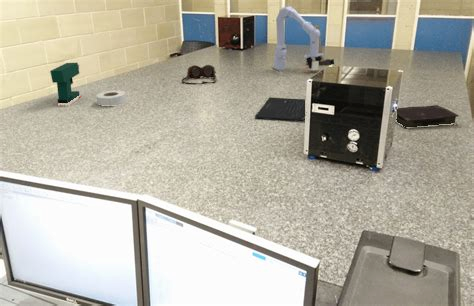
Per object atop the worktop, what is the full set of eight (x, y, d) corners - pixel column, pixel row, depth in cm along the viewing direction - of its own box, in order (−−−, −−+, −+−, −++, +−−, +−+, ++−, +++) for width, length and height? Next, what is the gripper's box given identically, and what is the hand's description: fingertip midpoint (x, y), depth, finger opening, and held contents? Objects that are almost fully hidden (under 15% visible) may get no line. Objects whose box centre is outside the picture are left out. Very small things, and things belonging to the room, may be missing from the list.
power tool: (78, 91, 255) (72, 59, 247) (89, 91, 255) (83, 59, 247) (56, 106, 226) (48, 71, 218) (68, 106, 226) (61, 70, 218)
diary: (386, 117, 195) (387, 107, 193) (435, 113, 197) (436, 103, 195) (405, 130, 178) (407, 119, 176) (458, 126, 180) (460, 116, 178)
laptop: (269, 100, 226) (269, 66, 218) (337, 104, 215) (340, 68, 207) (254, 119, 197) (253, 80, 189) (331, 125, 186) (334, 84, 178)
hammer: (307, 69, 301) (301, 29, 290) (307, 68, 306) (301, 28, 295) (334, 65, 296) (329, 23, 285) (334, 63, 301) (329, 22, 290)
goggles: (183, 86, 258) (183, 70, 254) (178, 79, 279) (177, 64, 275) (220, 84, 264) (220, 68, 260) (212, 77, 285) (212, 62, 281)
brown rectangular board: (295, 70, 290) (295, 64, 289) (309, 68, 295) (309, 62, 293) (308, 75, 275) (309, 69, 273) (323, 73, 279) (324, 67, 278)
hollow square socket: (308, 69, 281) (308, 60, 279) (314, 68, 283) (314, 59, 280) (312, 70, 277) (312, 61, 274) (318, 69, 278) (318, 61, 276)
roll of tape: (99, 109, 219) (97, 99, 217) (96, 101, 233) (95, 92, 230) (128, 105, 225) (127, 95, 223) (124, 98, 238) (122, 88, 236)
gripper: (308, 49, 268) (307, 70, 273) (326, 47, 273) (325, 67, 278) (302, 48, 274) (302, 68, 279) (320, 46, 279) (319, 65, 284)
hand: (313, 67), depth 279 cm, fingers closed on hollow square socket, 5 cm apart
